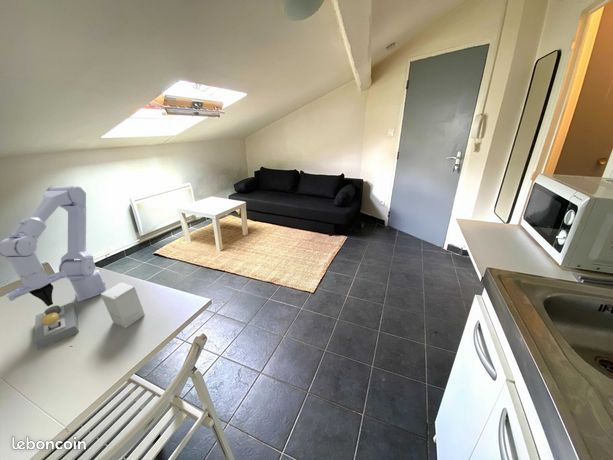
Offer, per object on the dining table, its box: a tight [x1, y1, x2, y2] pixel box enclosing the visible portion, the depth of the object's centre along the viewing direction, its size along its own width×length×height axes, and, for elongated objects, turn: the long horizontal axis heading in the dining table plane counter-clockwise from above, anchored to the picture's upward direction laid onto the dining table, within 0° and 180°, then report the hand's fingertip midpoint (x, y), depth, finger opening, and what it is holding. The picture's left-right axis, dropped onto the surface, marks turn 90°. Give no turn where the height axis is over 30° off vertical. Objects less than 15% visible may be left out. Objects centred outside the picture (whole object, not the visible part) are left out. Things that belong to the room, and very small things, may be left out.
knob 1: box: [43, 305, 61, 315], centre depth 92 cm, size 4×4×5 cm
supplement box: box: [100, 281, 146, 329], centre depth 91 cm, size 7×7×13 cm
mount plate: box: [33, 301, 79, 350], centre depth 89 cm, size 10×16×4 cm, turn 42°
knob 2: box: [41, 313, 60, 330], centre depth 85 cm, size 4×4×5 cm
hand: (49, 304), depth 90 cm, fingers closed
